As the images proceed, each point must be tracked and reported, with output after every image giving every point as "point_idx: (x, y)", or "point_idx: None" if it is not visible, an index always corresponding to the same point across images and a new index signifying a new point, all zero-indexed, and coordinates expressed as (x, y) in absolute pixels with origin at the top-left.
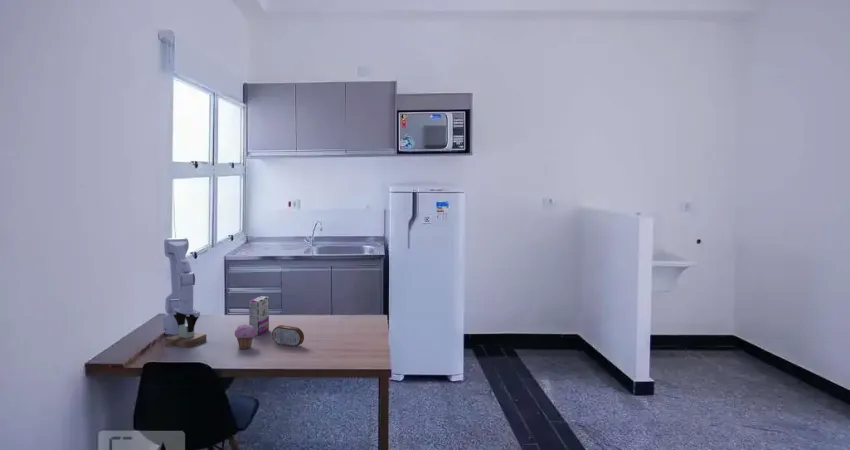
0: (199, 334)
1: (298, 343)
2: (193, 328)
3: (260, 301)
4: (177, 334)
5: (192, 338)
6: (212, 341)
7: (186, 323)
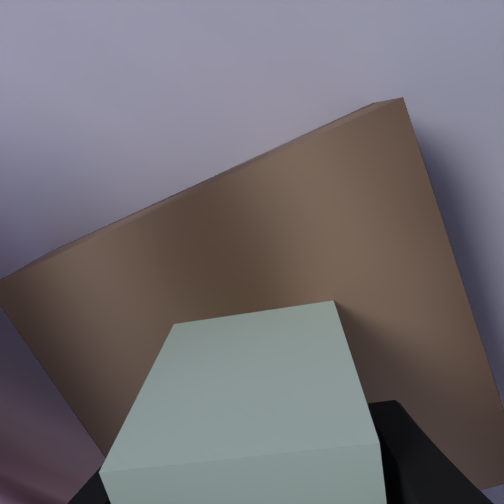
0: (322, 199)
1: None
2: (429, 445)
3: None
4: (100, 412)
5: (444, 392)
6: (466, 49)
7: (120, 497)
